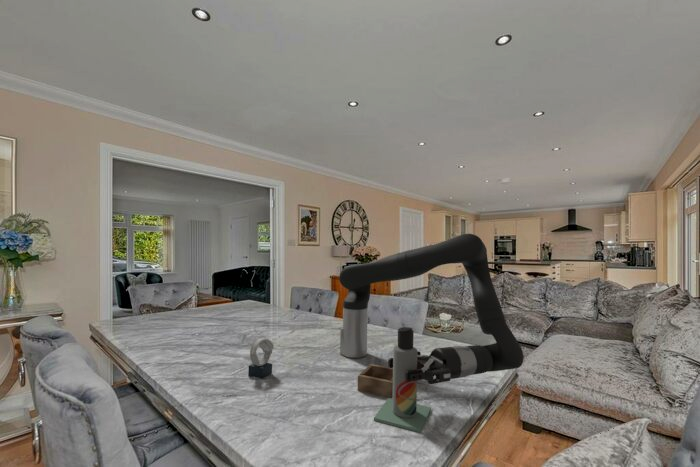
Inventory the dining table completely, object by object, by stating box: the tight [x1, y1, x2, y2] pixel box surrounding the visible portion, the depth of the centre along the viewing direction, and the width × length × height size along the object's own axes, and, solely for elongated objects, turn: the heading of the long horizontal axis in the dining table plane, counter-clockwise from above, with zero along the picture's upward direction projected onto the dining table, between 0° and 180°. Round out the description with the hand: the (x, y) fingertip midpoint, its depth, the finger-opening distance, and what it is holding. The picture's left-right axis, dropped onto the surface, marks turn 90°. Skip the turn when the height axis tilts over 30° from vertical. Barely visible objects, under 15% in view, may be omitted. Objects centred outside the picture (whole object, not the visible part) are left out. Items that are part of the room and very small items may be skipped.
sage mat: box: [373, 397, 432, 434], centre depth 76 cm, size 11×11×1 cm
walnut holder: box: [357, 363, 393, 399], centre depth 91 cm, size 10×10×4 cm
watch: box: [247, 337, 275, 380], centre depth 99 cm, size 6×8×11 cm
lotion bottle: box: [392, 326, 418, 418], centre depth 77 cm, size 6×6×20 cm
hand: (396, 369), depth 76 cm, fingers open, 8 cm apart
